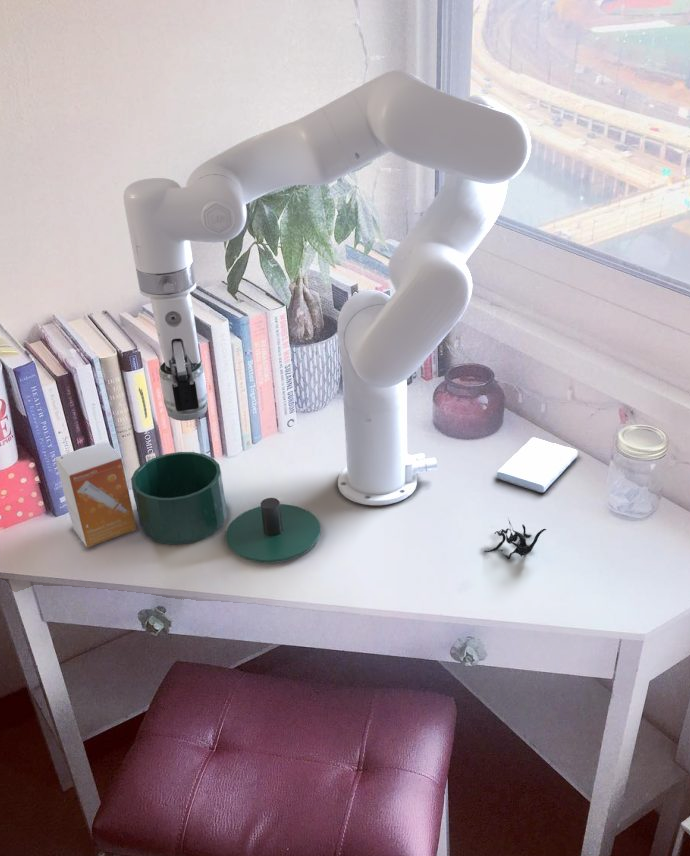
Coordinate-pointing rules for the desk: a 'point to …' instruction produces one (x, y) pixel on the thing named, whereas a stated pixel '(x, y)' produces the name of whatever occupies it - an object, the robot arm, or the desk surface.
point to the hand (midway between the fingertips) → (185, 396)
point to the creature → (522, 547)
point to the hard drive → (537, 465)
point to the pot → (179, 497)
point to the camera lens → (169, 396)
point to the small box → (96, 493)
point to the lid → (273, 532)
